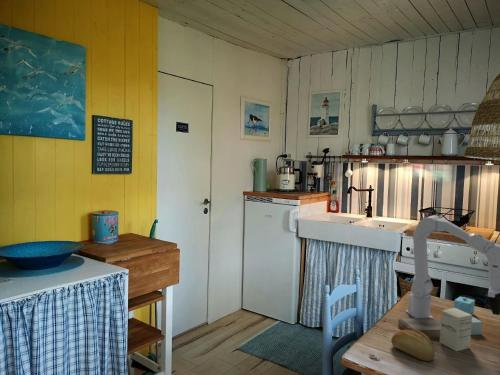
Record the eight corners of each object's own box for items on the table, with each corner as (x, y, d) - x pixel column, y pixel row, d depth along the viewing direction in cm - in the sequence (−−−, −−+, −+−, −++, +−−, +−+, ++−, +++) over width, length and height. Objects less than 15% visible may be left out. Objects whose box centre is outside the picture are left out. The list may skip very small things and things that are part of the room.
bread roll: (398, 341, 147) (400, 320, 146) (439, 357, 136) (441, 335, 135) (385, 349, 141) (386, 327, 140) (427, 366, 129) (428, 343, 129)
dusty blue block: (461, 329, 158) (461, 317, 158) (472, 328, 159) (473, 316, 159) (469, 335, 153) (470, 322, 153) (481, 334, 154) (482, 322, 154)
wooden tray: (398, 325, 161) (398, 318, 160) (432, 323, 163) (432, 316, 162) (414, 338, 149) (414, 331, 149) (450, 337, 151) (451, 329, 151)
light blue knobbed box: (465, 320, 167) (467, 303, 166) (450, 316, 171) (451, 299, 170) (474, 313, 175) (476, 296, 175) (460, 309, 179) (461, 293, 179)
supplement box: (438, 342, 146) (440, 309, 145) (452, 339, 149) (455, 307, 148) (456, 352, 139) (458, 317, 138) (470, 348, 142) (472, 314, 141)
